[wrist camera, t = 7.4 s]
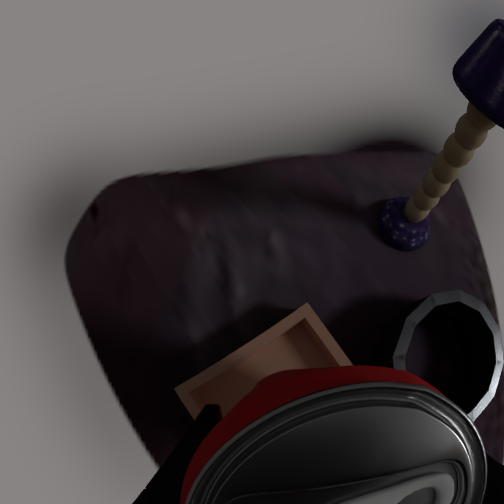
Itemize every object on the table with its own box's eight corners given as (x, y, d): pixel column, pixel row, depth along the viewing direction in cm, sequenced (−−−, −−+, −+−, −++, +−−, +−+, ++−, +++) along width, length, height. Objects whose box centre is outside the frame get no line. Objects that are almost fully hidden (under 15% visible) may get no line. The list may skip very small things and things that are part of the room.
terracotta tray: (378, 416, 16) (393, 421, 14) (263, 493, 15) (263, 509, 12) (301, 310, 19) (307, 302, 17) (184, 386, 18) (173, 388, 15)
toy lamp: (367, 196, 22) (458, -7, 6) (417, 192, 22) (520, 22, 7) (387, 256, 20) (537, 64, 5) (437, 246, 20) (584, 91, 5)
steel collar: (488, 366, 17) (517, 362, 13) (412, 448, 15) (438, 459, 12) (433, 280, 19) (458, 264, 16) (347, 357, 18) (365, 353, 15)
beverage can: (230, 380, 15) (126, 401, 4) (331, 358, 15) (479, 316, 4) (250, 472, 13) (213, 638, 2) (349, 449, 13) (489, 558, 2)
